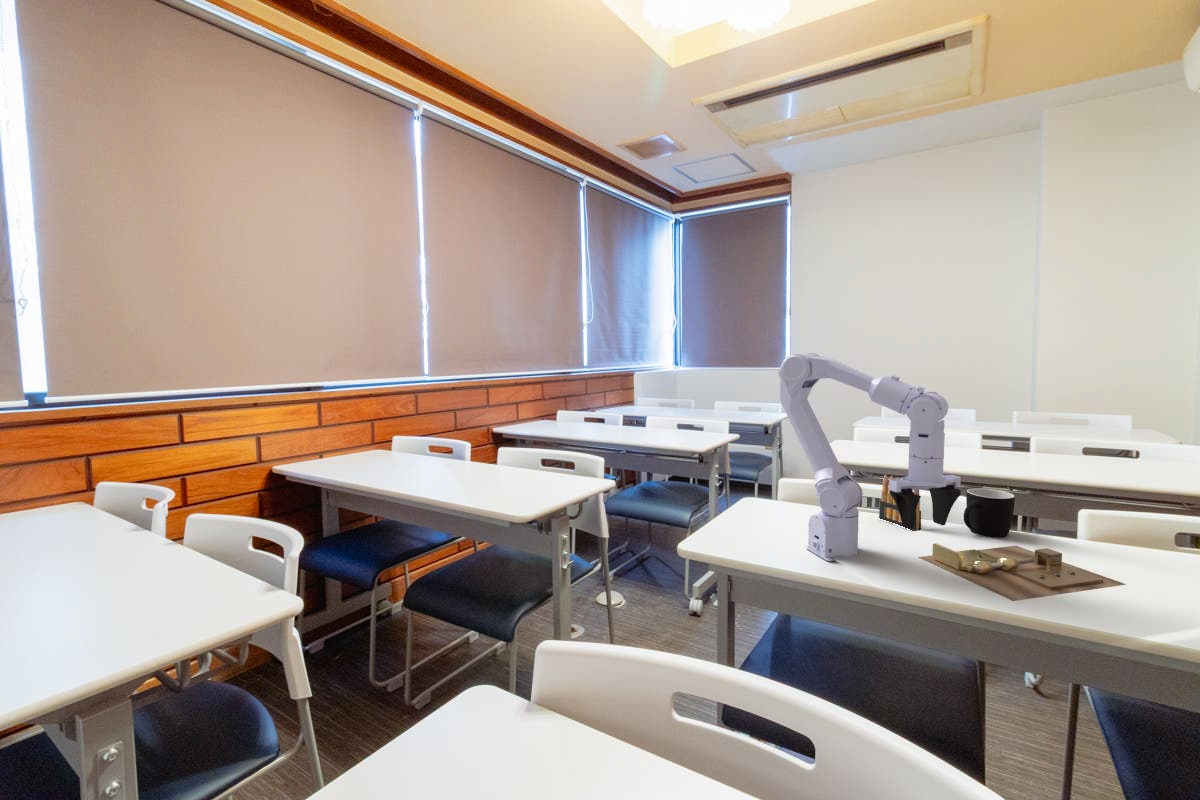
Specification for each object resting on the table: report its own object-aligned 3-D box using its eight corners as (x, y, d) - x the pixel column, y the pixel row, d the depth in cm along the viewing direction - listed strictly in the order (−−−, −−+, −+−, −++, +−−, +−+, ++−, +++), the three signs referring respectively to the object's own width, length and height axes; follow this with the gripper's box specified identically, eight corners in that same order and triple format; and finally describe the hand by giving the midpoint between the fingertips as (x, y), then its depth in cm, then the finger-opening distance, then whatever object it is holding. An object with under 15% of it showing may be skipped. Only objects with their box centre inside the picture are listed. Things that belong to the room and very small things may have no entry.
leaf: (989, 550, 111) (990, 536, 111) (1037, 568, 102) (1038, 553, 101) (930, 557, 108) (931, 543, 108) (973, 576, 98) (974, 560, 98)
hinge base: (1046, 561, 105) (1047, 548, 105) (1103, 582, 96) (1104, 567, 95) (997, 568, 103) (997, 554, 102) (1050, 590, 93) (1051, 574, 93)
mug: (983, 527, 128) (985, 486, 127) (1022, 539, 120) (1024, 495, 119) (945, 533, 125) (947, 491, 124) (983, 546, 116) (985, 501, 115)
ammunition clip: (921, 531, 127) (923, 482, 126) (915, 532, 126) (917, 483, 125) (884, 518, 137) (885, 473, 136) (878, 519, 136) (879, 473, 135)
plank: (1012, 605, 90) (1013, 600, 89) (917, 560, 109) (918, 557, 109) (1125, 588, 95) (1125, 584, 95) (1015, 549, 114) (1016, 545, 114)
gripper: (910, 462, 96) (908, 535, 97) (976, 457, 99) (973, 528, 100) (881, 455, 103) (879, 523, 104) (944, 451, 106) (941, 517, 107)
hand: (923, 525), depth 103 cm, fingers open, 7 cm apart
